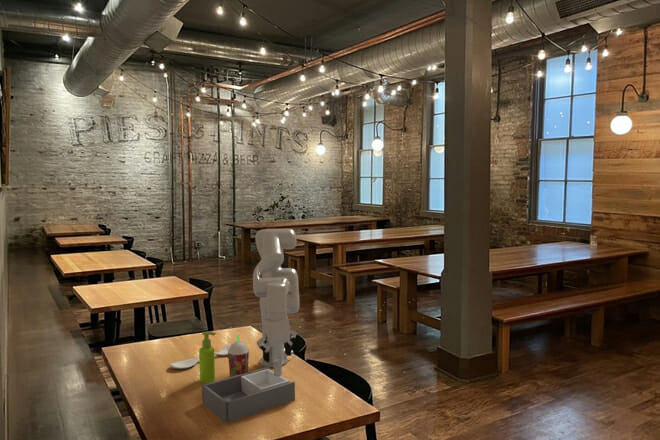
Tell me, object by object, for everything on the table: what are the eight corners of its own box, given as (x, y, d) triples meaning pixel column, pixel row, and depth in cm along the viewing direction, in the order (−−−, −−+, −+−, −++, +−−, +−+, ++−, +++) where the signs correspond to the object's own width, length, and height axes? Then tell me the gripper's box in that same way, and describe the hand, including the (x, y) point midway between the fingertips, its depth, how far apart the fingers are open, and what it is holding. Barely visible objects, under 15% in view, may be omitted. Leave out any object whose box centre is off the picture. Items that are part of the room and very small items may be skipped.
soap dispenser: (213, 383, 202) (212, 335, 200) (197, 382, 204) (196, 334, 202) (219, 377, 208) (218, 330, 206) (204, 376, 209) (202, 329, 207)
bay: (268, 383, 202) (267, 366, 201) (294, 400, 187) (294, 382, 186) (202, 403, 184) (201, 385, 184) (226, 423, 170) (225, 403, 169)
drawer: (270, 382, 200) (270, 354, 199) (292, 395, 188) (291, 365, 187) (241, 391, 192) (240, 362, 191) (261, 404, 180) (261, 374, 179)
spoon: (239, 354, 235) (239, 347, 235) (176, 374, 213) (176, 366, 212) (228, 350, 242) (228, 343, 241) (166, 368, 219) (166, 360, 219)
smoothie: (253, 381, 205) (252, 333, 203) (243, 389, 197) (242, 339, 195) (235, 378, 207) (234, 331, 206) (224, 386, 199) (223, 337, 198)
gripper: (290, 308, 199) (290, 349, 201) (251, 316, 189) (252, 360, 191) (301, 312, 193) (301, 355, 195) (262, 321, 183) (262, 367, 185)
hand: (277, 358), depth 193 cm, fingers open, 9 cm apart
